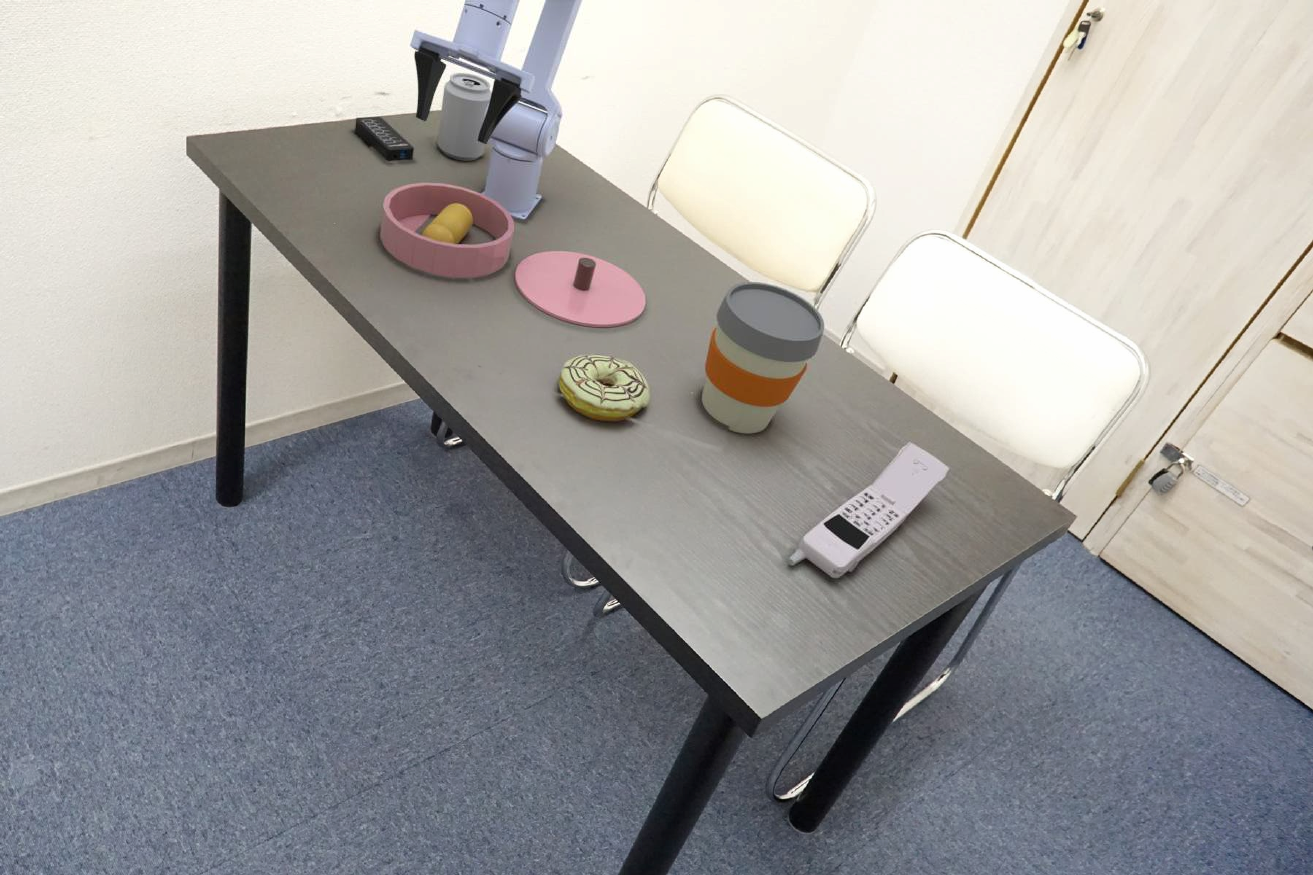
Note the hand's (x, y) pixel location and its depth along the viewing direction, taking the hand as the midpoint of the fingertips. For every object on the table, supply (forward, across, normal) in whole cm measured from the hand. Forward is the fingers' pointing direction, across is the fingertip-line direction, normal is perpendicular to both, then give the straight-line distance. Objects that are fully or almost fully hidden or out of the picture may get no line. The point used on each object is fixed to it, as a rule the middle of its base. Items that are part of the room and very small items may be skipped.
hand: (451, 131), depth 113 cm
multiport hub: (+5, -20, +37) cm, 42 cm away
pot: (+14, 0, +16) cm, 21 cm away
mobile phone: (+26, +61, -11) cm, 67 cm away
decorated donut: (+23, +28, -4) cm, 36 cm away
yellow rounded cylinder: (+14, 0, +16) cm, 21 cm away
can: (+1, -10, +43) cm, 44 cm away
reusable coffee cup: (+20, +44, +2) cm, 48 cm away
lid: (+13, +19, +15) cm, 28 cm away
